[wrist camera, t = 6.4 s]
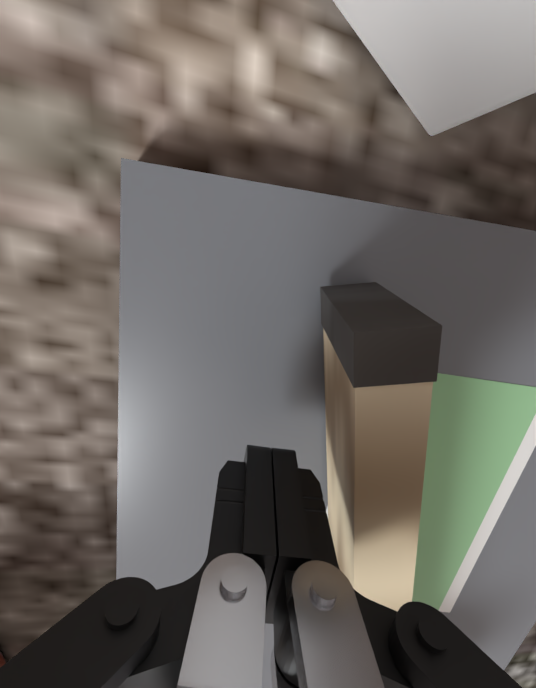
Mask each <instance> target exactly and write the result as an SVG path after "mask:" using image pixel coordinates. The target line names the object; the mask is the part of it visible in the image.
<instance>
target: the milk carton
mask: <svg viewBox="0 0 536 688" xmlns="http://www.w3.org/2000/svg"><path fill="white" fill-rule="evenodd" d="M333 2H334V3H335V4H336V6H337V7H338V9H339V10H340V11H341V13H342V14H343V16H344V17H345V18H346V20H347V21H348V23H349V24H350V25H351V27H352V28H353V30H354V31H355V32H356V34H357V35H358V37H359V38H360V39H361V41H362V42H363V44H364V45H365V46H366V48H367V49H368V50H369V52H370V53H371V55H372V56H373V57H374V59H375V60H376V62H377V63H378V64H379V66H380V67H381V69H382V70H383V71H384V73H385V74H386V76H387V77H388V78H389V80H390V81H391V83H392V84H393V85H394V87H395V88H396V90H397V91H398V92H399V94H400V95H401V97H402V98H403V99H404V101H405V102H406V104H407V105H408V106H409V108H410V109H411V111H412V112H413V113H414V115H415V116H416V118H417V119H418V120H419V122H420V123H421V124H422V126H423V127H424V129H425V130H426V131H427V133H428V134H429V135H430V136H434V135H436V134H439V133H441V132H444V131H446V130H448V129H451V128H453V127H455V126H458V125H460V124H463V123H465V122H467V121H470V120H472V119H474V118H477V117H479V116H481V115H484V114H486V113H489V112H491V111H493V110H496V109H498V108H500V107H503V106H505V105H507V104H510V103H512V102H515V101H517V100H519V99H522V98H524V97H526V96H529V95H531V94H534V93H536V0H333Z"/></svg>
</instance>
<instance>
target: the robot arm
mask: <svg viewBox="0 0 536 688" xmlns="http://www.w3.org/2000/svg"><path fill="white" fill-rule="evenodd" d="M265 623H267V624H273V627H274V646H273V650H272V653H271V659H270V667H271V678H272V688H522V687H521V686H520V685H519V684H518V683H516V682H515V681H514V680H513V679H512V678H511V677H510V676H509V675H508V674H507V673H506V672H505V671H504V670H503V669H502V668H500V667H499V666H498V665H497V664H496V663H495V662H494V661H493V660H492V659H491V658H490V657H489V656H488V655H487V654H485V653H484V652H483V651H482V650H481V649H480V648H479V647H478V646H477V645H476V644H475V643H474V642H473V641H472V640H470V639H469V638H468V637H467V636H466V635H465V634H464V633H463V632H462V631H461V630H460V629H459V628H458V627H457V626H456V625H454V624H453V623H452V622H451V621H450V620H449V619H448V618H447V617H446V616H445V615H444V614H442V613H441V612H440V611H438V610H437V609H435V608H434V607H432V606H430V605H428V604H425V603H422V602H414V601H412V602H407V603H405V604H403V605H402V606H401V607H400V608H399V610H398V612H397V611H395V610H393V609H390V608H388V607H386V606H383V605H381V604H379V603H376V602H374V601H372V600H370V599H368V598H366V597H364V596H362V595H361V594H359V593H358V592H357V591H356V590H355V589H353V587H352V585H351V583H350V581H349V580H348V578H347V577H346V576H345V575H344V574H343V573H342V571H340V568H339V565H338V562H337V557H336V553H335V548H334V544H333V539H332V535H331V530H330V526H329V521H328V517H327V514H326V507H325V503H324V501H323V494H322V489H321V485H320V482H319V481H318V479H317V478H316V476H315V475H314V474H313V472H312V471H311V469H302V468H298V464H297V457H296V452H295V450H289V449H280V448H270V447H262V446H254V445H247V446H246V451H245V457H244V462H239V461H230V460H228V461H227V462H226V463H225V465H224V466H223V468H222V469H221V470H220V472H219V477H218V483H217V490H216V497H215V504H214V511H213V518H212V525H211V533H210V540H209V547H208V554H207V557H206V560H205V562H204V564H203V565H202V567H201V568H200V569H199V571H198V572H197V573H196V574H195V575H194V576H192V577H191V578H189V579H188V580H186V581H184V582H182V583H179V584H176V585H172V586H169V587H165V588H161V589H157V590H156V589H155V587H154V586H153V585H152V584H151V583H149V582H148V581H146V580H144V579H141V578H138V577H125V578H120V579H117V580H114V581H112V582H110V583H108V584H106V585H105V586H104V587H102V588H101V589H99V590H98V591H97V592H96V593H94V594H93V595H92V596H91V597H89V598H88V599H87V600H86V601H84V602H83V603H82V604H80V605H79V606H78V607H77V608H75V609H74V610H73V611H72V612H70V613H69V614H68V615H66V616H65V617H64V618H63V619H61V620H60V621H59V622H58V623H56V624H55V625H54V626H52V627H51V628H50V629H49V630H47V631H46V632H45V633H44V634H42V635H41V636H40V637H39V638H37V639H36V640H35V641H33V642H32V643H31V644H30V645H28V646H27V647H26V648H25V649H23V650H22V651H21V652H19V653H18V654H17V655H16V656H14V657H13V658H12V659H11V660H9V661H8V662H7V663H6V664H4V665H3V666H2V667H0V688H262V669H263V649H264V629H265Z"/></svg>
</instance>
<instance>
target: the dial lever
mask: <svg viewBox="0 0 536 688" xmlns="http://www.w3.org/2000/svg"><path fill="white" fill-rule="evenodd" d="M320 295H321V324H322V326H323V338H324V376H325V414H326V452H327V490H328V521H329V526H330V530H331V535H332V539H333V544H334V548H335V553H336V557H337V562H338V565H339V568H340V571H342V573H343V574H344V575H345V576H346V577H347V578H348V580H349V581H350V583H351V585H352V587H353V589H355V590H356V591H357V592H358V593H359V594H361V595H362V596H364V597H366V598H368V599H370V600H372V601H374V602H376V603H379V604H381V605H383V606H386V607H388V608H390V609H393V610H395V611H397V612H398V610H399V608H400V607H401V606H402V605H403V604H405V603H407V602H412V597H413V586H414V576H415V566H416V555H417V545H418V534H419V524H420V513H421V503H422V493H423V482H424V472H425V461H426V451H427V440H428V430H429V420H430V409H431V399H432V388H433V382H436V381H437V374H438V364H439V354H440V344H441V334H442V325H441V324H439V323H438V322H436V321H434V320H433V319H431V318H430V317H428V316H427V315H425V314H424V313H422V312H421V311H419V310H418V309H416V308H415V307H413V306H412V305H410V304H409V303H407V302H406V301H404V300H402V299H401V298H399V297H398V296H396V295H395V294H393V293H392V292H390V291H389V290H387V289H386V288H384V287H383V286H381V285H380V284H378V283H377V282H371V283H359V284H347V285H334V286H322V287H320Z"/></svg>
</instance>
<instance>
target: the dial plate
mask: <svg viewBox="0 0 536 688" xmlns="http://www.w3.org/2000/svg"><path fill="white" fill-rule="evenodd" d="M371 282H377V283H378V284H380V285H381V286H383V287H384V288H386V289H387V290H389V291H390V292H392V293H393V294H395V295H396V296H398V297H399V298H401V299H402V300H404V301H406V302H407V303H409V304H410V305H412V306H413V307H415V308H416V309H418V310H419V311H421V312H422V313H424V314H425V315H427V316H428V317H430V318H431V319H433V320H434V321H436V322H438V323H439V324H441V325H442V334H441V344H440V354H439V364H438V374H437V381H436V382H433V388H432V399H431V409H430V420H429V430H428V440H427V451H426V461H425V472H424V482H423V493H422V503H421V513H420V524H419V534H418V545H417V555H416V566H415V576H414V586H413V597H412V601H414V602H422V603H425V604H428V605H430V606H432V607H434V608H435V609H437V610H438V611H440V612H441V613H442V614H444V615H445V616H446V617H447V618H448V619H449V620H450V621H451V622H452V623H453V624H454V625H456V626H457V627H458V628H459V629H460V630H461V631H462V632H463V633H464V634H465V635H466V636H467V637H468V638H469V639H470V640H472V641H473V642H474V643H475V644H476V645H477V646H478V647H479V648H480V649H481V650H482V651H483V652H484V653H485V654H487V655H488V656H489V657H490V658H491V659H492V660H493V661H494V662H495V663H496V664H497V665H498V666H499V667H500V668H502V669H503V670H504V669H505V668H506V666H507V665H508V663H509V662H510V660H511V659H512V657H513V655H514V654H515V652H516V651H517V649H518V648H519V646H520V645H521V643H522V642H523V640H524V639H525V637H526V636H527V634H528V632H529V631H530V629H531V628H532V626H533V625H534V623H535V622H536V231H533V230H528V229H522V228H516V227H511V226H505V225H499V224H494V223H488V222H482V221H476V220H471V219H465V218H459V217H454V216H448V215H442V214H437V213H431V212H425V211H420V210H414V209H408V208H402V207H397V206H391V205H385V204H380V203H374V202H368V201H363V200H357V199H351V198H346V197H340V196H334V195H328V194H323V193H317V192H311V191H306V190H300V189H294V188H289V187H283V186H277V185H271V184H266V183H260V182H254V181H249V180H243V179H237V178H232V177H226V176H220V175H215V174H209V173H203V172H197V171H192V170H186V169H180V168H175V167H169V166H163V165H158V164H152V163H146V162H140V161H135V160H129V159H123V158H121V210H120V300H119V390H118V480H117V569H116V580H117V579H120V578H125V577H138V578H141V579H144V580H146V581H148V582H149V583H151V584H152V585H153V586H154V587H155V589H156V590H157V589H161V588H165V587H169V586H172V585H176V584H179V583H182V582H184V581H186V580H188V579H189V578H191V577H192V576H194V575H195V574H196V573H197V572H198V571H199V569H200V568H201V567H202V565H203V564H204V562H205V560H206V557H207V554H208V547H209V540H210V533H211V525H212V518H213V511H214V504H215V497H216V490H217V483H218V477H219V472H220V470H221V469H222V468H223V466H224V465H225V463H226V462H227V461H228V460H230V461H239V462H244V457H245V451H246V446H247V445H254V446H262V447H270V448H280V449H289V450H295V452H296V457H297V464H298V468H302V469H311V471H312V472H313V474H314V475H315V476H316V478H317V479H318V481H319V482H320V485H321V489H322V494H323V501H324V503H325V507H326V514H327V517H328V490H327V452H326V414H325V376H324V338H323V326H322V324H321V295H320V287H322V286H334V285H347V284H359V283H371ZM273 646H274V627H273V624H267V623H265V629H264V649H263V669H262V688H272V678H271V667H270V659H271V653H272V650H273Z"/></svg>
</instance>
